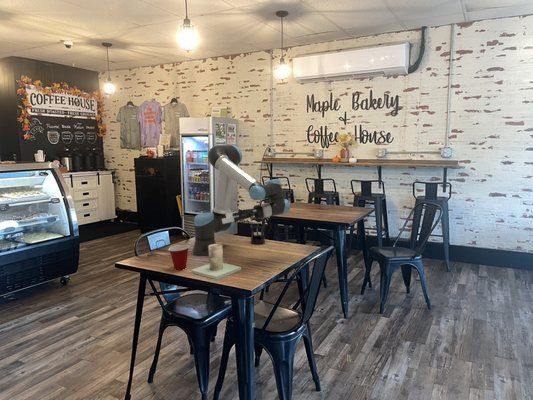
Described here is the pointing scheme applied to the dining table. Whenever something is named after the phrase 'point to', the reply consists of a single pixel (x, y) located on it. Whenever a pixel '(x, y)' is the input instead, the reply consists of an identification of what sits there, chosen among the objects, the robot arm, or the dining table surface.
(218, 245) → the birch roller
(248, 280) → the dining table surface
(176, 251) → the plastic cup
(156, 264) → the dining table surface
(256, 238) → the french press
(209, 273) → the board
